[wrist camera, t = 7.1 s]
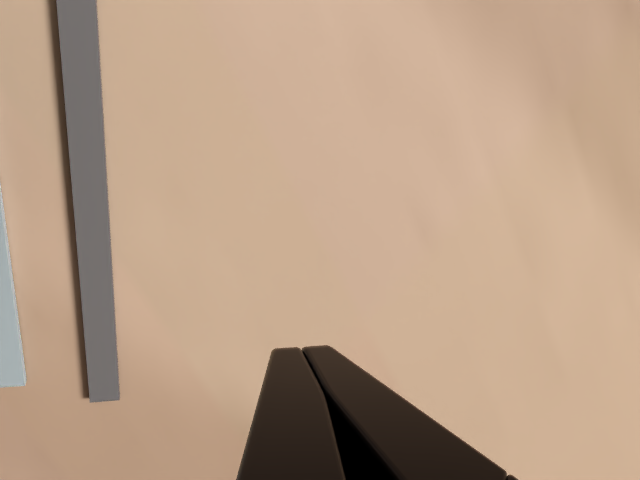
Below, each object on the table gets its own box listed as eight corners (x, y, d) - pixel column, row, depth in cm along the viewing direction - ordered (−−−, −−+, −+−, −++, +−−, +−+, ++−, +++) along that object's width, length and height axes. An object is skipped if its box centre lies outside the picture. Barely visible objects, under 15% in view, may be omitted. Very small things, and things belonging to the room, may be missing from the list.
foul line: (119, 396, 22) (119, 400, 22) (90, 398, 21) (89, 402, 21) (84, -203, 15) (83, -205, 14) (40, -209, 14) (38, -211, 14)
